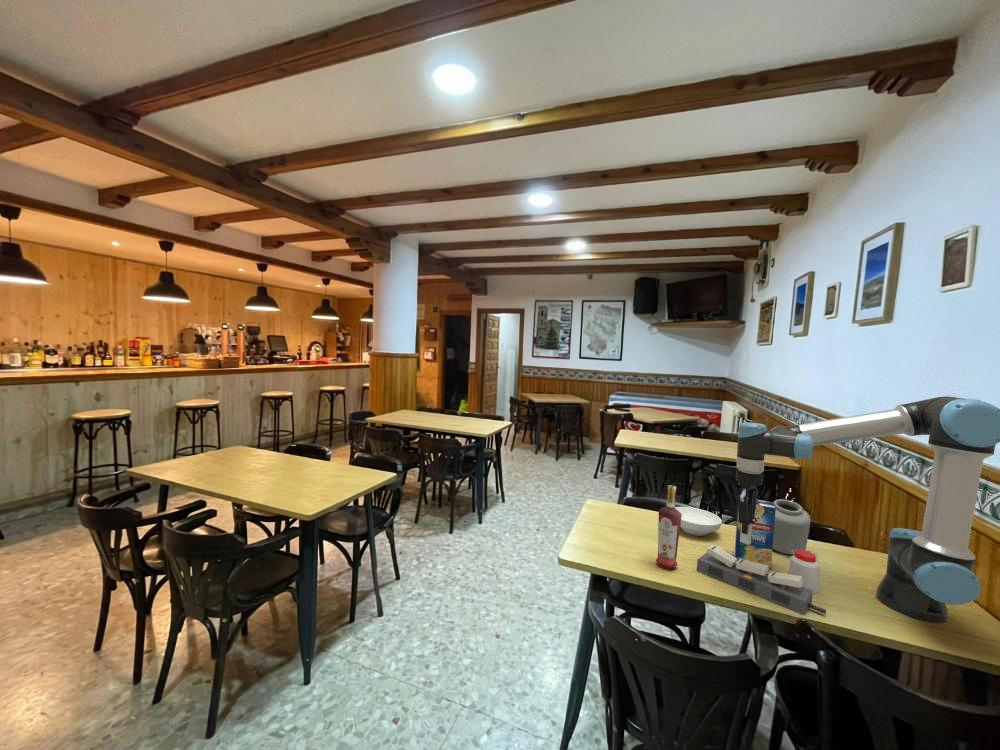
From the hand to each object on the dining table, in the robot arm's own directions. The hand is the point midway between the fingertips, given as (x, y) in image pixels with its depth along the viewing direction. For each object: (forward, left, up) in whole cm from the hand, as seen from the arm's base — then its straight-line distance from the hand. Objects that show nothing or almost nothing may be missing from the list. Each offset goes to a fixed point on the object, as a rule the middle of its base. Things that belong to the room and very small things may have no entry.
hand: (745, 542), depth 131 cm
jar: (-2, -40, -14) cm, 42 cm away
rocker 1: (+6, 0, -7) cm, 10 cm away
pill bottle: (-13, -14, -14) cm, 24 cm away
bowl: (+27, -28, -14) cm, 41 cm away
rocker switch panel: (-4, 0, -13) cm, 14 cm away
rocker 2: (-2, 0, -7) cm, 7 cm away
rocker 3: (-11, 0, -7) cm, 13 cm away
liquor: (+21, +10, -14) cm, 27 cm away
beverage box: (+3, -19, -14) cm, 23 cm away
